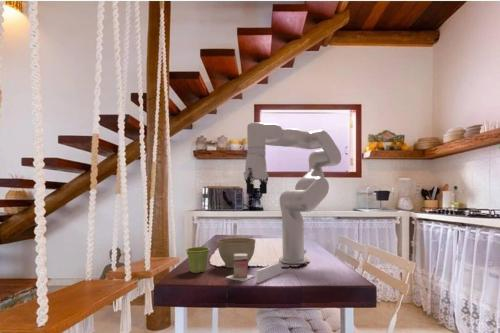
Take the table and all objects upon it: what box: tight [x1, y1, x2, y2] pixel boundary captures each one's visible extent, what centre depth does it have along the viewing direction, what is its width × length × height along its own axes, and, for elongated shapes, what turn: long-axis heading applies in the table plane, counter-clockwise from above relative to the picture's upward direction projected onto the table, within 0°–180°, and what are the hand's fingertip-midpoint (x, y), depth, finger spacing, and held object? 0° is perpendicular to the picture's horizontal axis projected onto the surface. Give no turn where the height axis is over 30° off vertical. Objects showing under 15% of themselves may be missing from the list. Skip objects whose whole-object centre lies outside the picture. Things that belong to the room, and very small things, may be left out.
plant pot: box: [185, 246, 211, 274], centre depth 130 cm, size 9×9×9 cm
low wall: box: [255, 261, 282, 284], centre depth 120 cm, size 16×1×4 cm, turn 146°
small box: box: [233, 254, 249, 278], centre depth 120 cm, size 5×4×8 cm
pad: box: [225, 273, 256, 282], centre depth 120 cm, size 7×8×1 cm
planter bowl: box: [216, 237, 256, 269], centre depth 138 cm, size 16×16×11 cm
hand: (256, 193), depth 135 cm, fingers open, 9 cm apart
